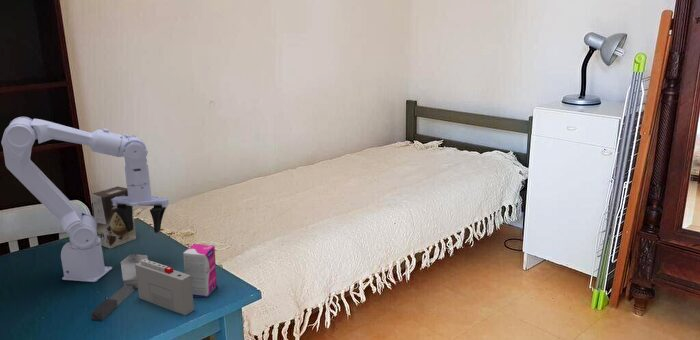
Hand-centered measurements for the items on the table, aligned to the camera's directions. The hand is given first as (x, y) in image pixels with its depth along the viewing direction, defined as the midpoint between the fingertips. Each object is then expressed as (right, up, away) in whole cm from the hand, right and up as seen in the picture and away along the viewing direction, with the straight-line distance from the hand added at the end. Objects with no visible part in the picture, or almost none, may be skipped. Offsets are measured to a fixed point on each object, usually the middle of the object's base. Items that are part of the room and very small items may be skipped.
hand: (144, 230), depth 147 cm
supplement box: (+19, -14, -12) cm, 26 cm away
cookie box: (-15, -5, +18) cm, 24 cm away
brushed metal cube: (+1, -11, -8) cm, 14 cm away
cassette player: (+12, -16, -17) cm, 26 cm away
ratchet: (0, -15, -15) cm, 21 cm away
